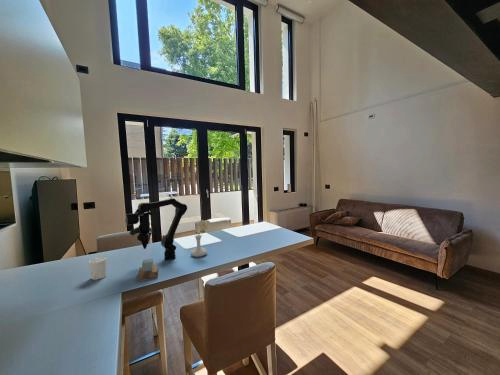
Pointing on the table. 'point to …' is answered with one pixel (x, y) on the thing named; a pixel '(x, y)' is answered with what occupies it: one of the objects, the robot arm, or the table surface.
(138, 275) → the tan block
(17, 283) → the table surface
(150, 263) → the gray cube
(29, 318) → the table surface
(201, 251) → the flower in vase
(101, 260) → the white cup
